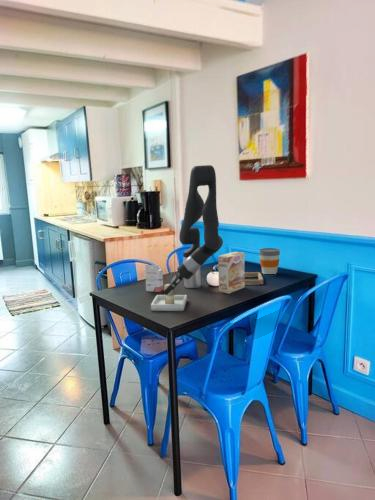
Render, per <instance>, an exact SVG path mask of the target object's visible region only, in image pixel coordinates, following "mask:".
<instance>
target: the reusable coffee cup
mask: <svg viewBox="0 0 375 500" xmlns="http://www.w3.org/2000/svg"><path fill="white" fill-rule="evenodd" d="M258 255H259V264H260V267H261V274H262V273H263V275H264V274H275V275H277V274H276V273H278V267H279V265H280V255H281V253H280V249H279V248H275V247H274V248H273V247H265V248H261V249H259V254H258Z"/></svg>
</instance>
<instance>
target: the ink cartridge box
mask: <svg viewBox="0 0 375 500" xmlns="http://www.w3.org/2000/svg"><path fill="white" fill-rule="evenodd" d="M144 268H145V269H144V273H145V274H144V275H145V290H146V292H153V293H154V292H155V293H161V292H163V291H164V278H163V277H164V276H163V269H160V267H159V265H157V264H156V265H155V264H145V267H144Z"/></svg>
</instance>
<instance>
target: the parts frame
mask: <svg viewBox="0 0 375 500" xmlns="http://www.w3.org/2000/svg"><path fill="white" fill-rule="evenodd" d="M245 278H257V279H245V286H256V285H258V286H259V285H260V284H261V285H264V278H263V276H262V272H258V271H256V272H255V271H254V272H253V271H252V272H247V271H246V272H245ZM261 285H260V286H261Z"/></svg>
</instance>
